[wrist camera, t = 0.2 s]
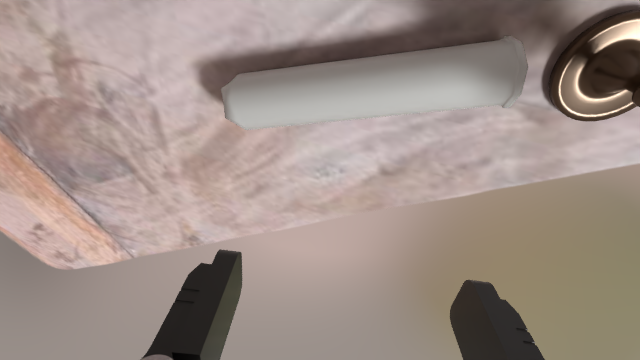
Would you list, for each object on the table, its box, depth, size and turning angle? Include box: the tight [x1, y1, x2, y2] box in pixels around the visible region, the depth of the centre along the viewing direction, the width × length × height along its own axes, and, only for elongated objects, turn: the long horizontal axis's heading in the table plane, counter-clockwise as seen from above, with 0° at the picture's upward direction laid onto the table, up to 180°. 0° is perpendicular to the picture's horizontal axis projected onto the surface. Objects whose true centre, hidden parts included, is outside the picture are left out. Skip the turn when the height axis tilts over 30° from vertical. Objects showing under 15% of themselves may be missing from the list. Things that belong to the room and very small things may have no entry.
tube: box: [221, 35, 528, 130], centre depth 27 cm, size 5×5×25 cm
